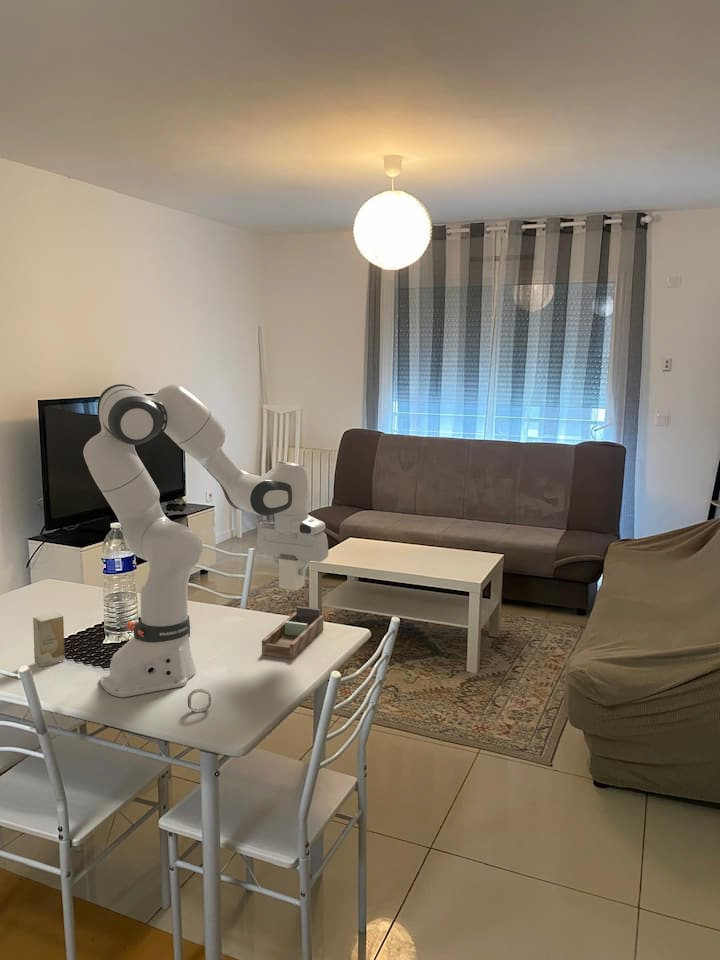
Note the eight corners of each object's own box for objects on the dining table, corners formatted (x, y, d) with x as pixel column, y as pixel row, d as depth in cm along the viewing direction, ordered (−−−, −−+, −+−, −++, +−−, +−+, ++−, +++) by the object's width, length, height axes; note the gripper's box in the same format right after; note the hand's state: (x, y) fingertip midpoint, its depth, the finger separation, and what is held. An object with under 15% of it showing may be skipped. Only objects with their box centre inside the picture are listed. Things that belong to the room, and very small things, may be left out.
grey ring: (187, 709, 160) (187, 688, 159) (210, 706, 161) (210, 686, 160) (188, 715, 157) (188, 694, 156) (211, 712, 158) (211, 691, 158)
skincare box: (41, 668, 180) (38, 621, 178) (34, 663, 183) (31, 617, 181) (66, 660, 185) (64, 615, 183) (58, 656, 188) (56, 611, 186)
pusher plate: (306, 636, 200) (306, 624, 199) (284, 634, 202) (284, 622, 201) (307, 635, 201) (307, 623, 200) (286, 632, 203) (286, 621, 202)
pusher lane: (293, 659, 188) (293, 637, 187) (261, 654, 190) (261, 633, 189) (323, 629, 209) (323, 609, 209) (294, 625, 212) (294, 605, 211)
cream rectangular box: (295, 590, 188) (295, 556, 186) (279, 588, 190) (278, 554, 188) (304, 585, 192) (304, 552, 191) (288, 582, 194) (288, 549, 193)
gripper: (250, 521, 189) (251, 571, 192) (320, 529, 181) (320, 581, 184) (263, 516, 195) (264, 565, 197) (331, 524, 187) (330, 575, 189)
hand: (291, 573), depth 190 cm, fingers closed on cream rectangular box, 5 cm apart
